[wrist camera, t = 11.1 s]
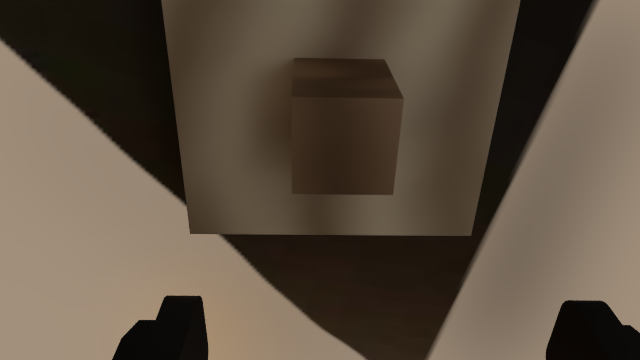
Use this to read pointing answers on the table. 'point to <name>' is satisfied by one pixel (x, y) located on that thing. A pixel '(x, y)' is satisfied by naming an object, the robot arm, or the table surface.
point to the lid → (336, 112)
